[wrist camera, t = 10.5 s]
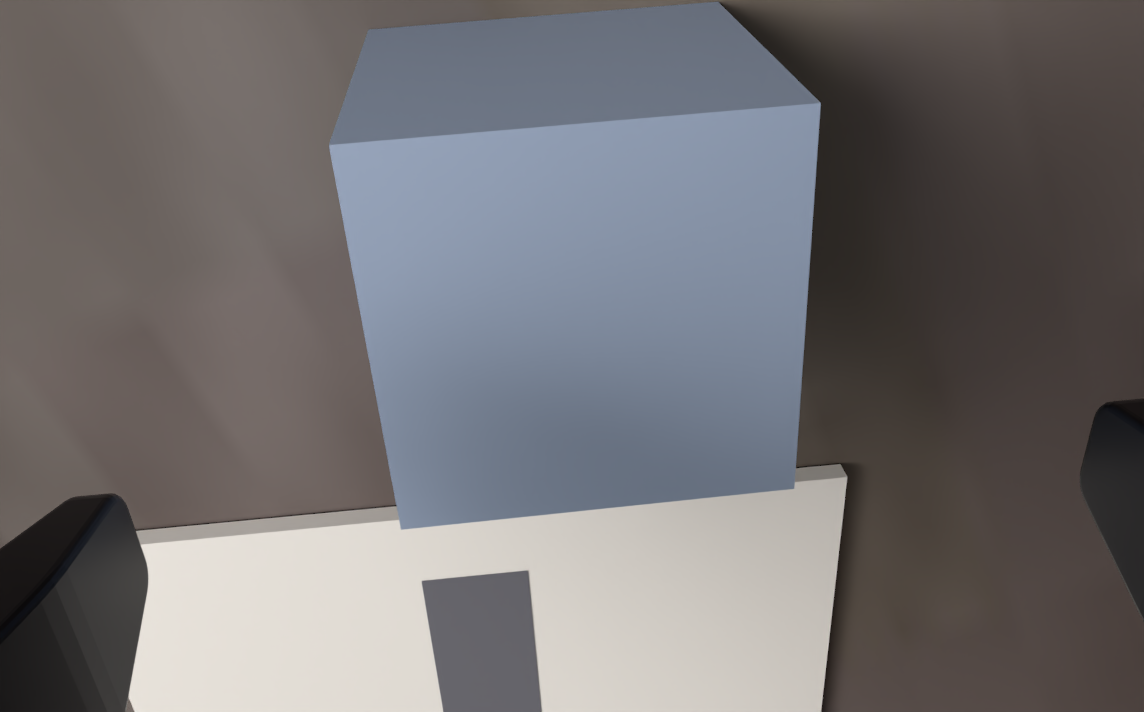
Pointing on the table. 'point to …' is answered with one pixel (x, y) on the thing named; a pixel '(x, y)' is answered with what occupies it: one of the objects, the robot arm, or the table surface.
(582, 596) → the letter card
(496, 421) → the slate cube
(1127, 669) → the table surface
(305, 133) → the table surface
